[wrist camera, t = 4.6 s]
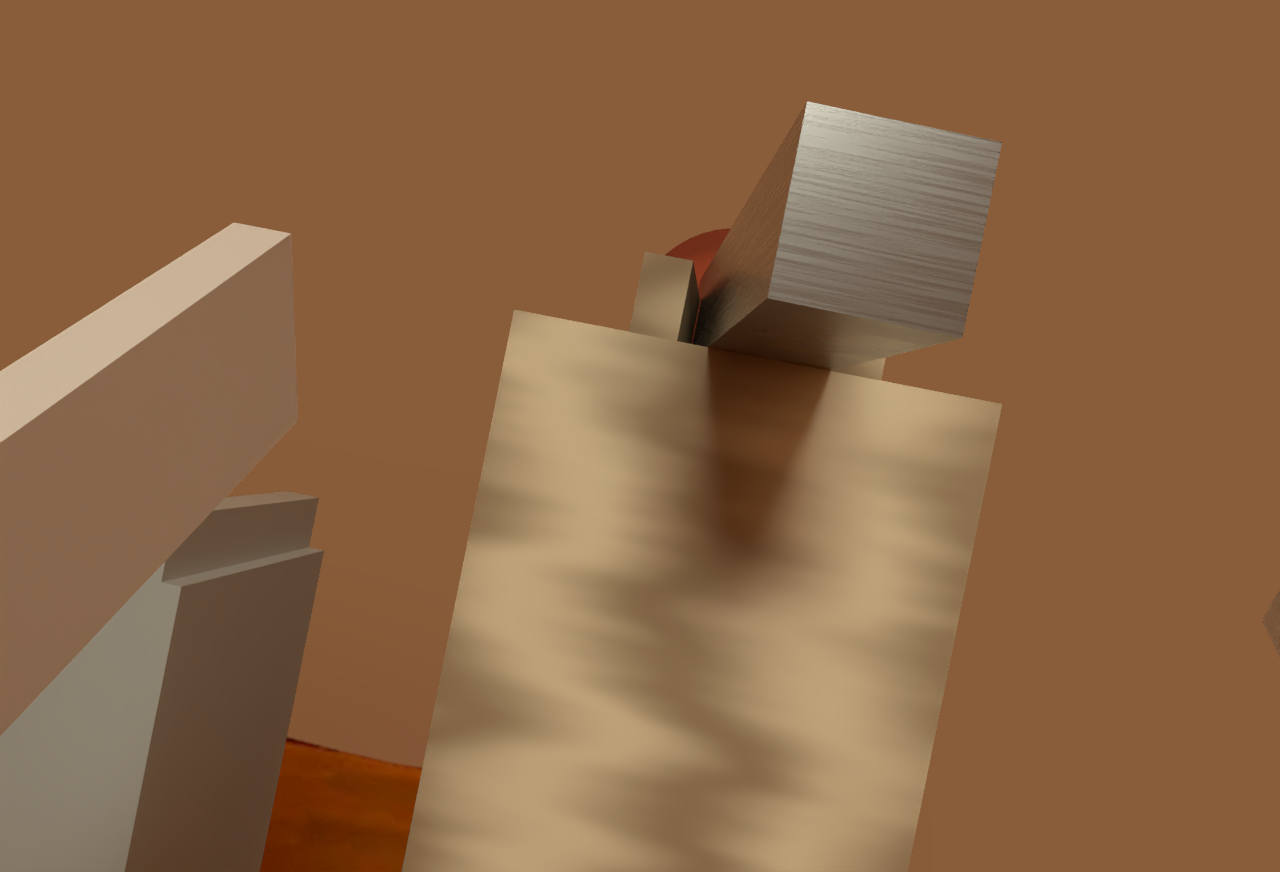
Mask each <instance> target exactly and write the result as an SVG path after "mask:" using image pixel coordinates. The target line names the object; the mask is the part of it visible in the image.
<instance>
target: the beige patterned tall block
mask: <svg viewBox="0 0 1280 872" xmlns="http://www.w3.org/2000/svg"><path fill="white" fill-rule="evenodd" d="M699 303H700V296H699V291H698V285H697V279H696V274H695V268H694V263H693V261H692V260H686V259H681V258H676V257H670V256H665V255H660V254H654V253H649V252H645V255H644V260H643V265H642V270H641V275H640V280H639V285H638V290H637V295H636V300H635V304H634V309H633V314H632V319H631V324H630V329H629V332H627V331H622V330H617V329H611V328H606V327H601V326H596V325H591V324H586V323H580V322H575V321H570V320H565V319H560V318H555V317H550V316H544V315H539V314H534V313H529V312H524V311H518V310H514V314H513V319H512V324H511V329H510V334H509V339H508V344H507V349H506V354H505V359H504V364H503V369H502V374H501V379H500V384H499V389H498V394H497V399H496V404H495V409H494V414H493V419H492V424H491V429H490V434H489V439H488V444H487V449H486V454H485V459H484V464H483V469H482V474H481V478H480V484H479V488H478V493H477V498H476V504H475V509H474V514H473V518H472V523H471V528H470V533H469V539H468V544H467V549H466V553H465V559H464V564H463V568H462V573H461V578H460V583H459V588H458V593H457V598H456V604H455V608H454V614H453V618H452V623H451V628H450V633H449V638H448V643H447V648H446V653H445V659H444V663H443V668H442V673H441V678H440V683H439V688H438V693H437V698H436V703H435V708H434V713H433V718H432V723H431V728H430V733H429V738H428V743H427V748H426V753H425V758H424V763H423V768H422V773H421V778H420V783H419V788H418V793H417V798H416V803H415V808H414V813H413V818H412V823H411V828H410V833H409V837H408V842H407V847H406V852H405V857H404V862H403V867H402V872H907V871H908V866H909V861H910V856H911V851H912V846H913V841H914V836H915V831H916V826H917V822H918V817H919V812H920V806H921V802H922V797H923V792H924V787H925V782H926V777H927V772H928V767H929V762H930V757H931V753H932V747H933V743H934V738H935V733H936V727H937V723H938V717H939V713H940V708H941V703H942V698H943V693H944V688H945V683H946V679H947V673H948V668H949V664H950V659H951V654H952V649H953V644H954V638H955V634H956V629H957V624H958V619H959V614H960V609H961V604H962V600H963V595H964V589H965V585H966V580H967V575H968V570H969V565H970V560H971V555H972V550H973V545H974V540H975V535H976V530H977V526H978V520H979V515H980V510H981V506H982V501H983V495H984V490H985V486H986V481H987V476H988V471H989V466H990V461H991V456H992V451H993V446H994V442H995V437H996V431H997V427H998V422H999V416H1000V412H1001V406H1002V404H998V403H993V402H988V401H983V400H978V399H972V398H967V397H962V396H957V395H952V394H947V393H941V392H936V391H931V390H926V389H921V388H916V387H911V386H905V385H900V384H894V383H890V382H885V381H881V378H882V373H883V368H884V363H885V358H886V357H885V358H881V359H877V360H873V361H869V362H865V363H861V364H857V365H853V366H849V367H845V368H841V369H837V370H833V371H828V370H823V369H818V368H813V367H807V366H802V365H797V364H792V363H787V362H782V361H776V360H771V359H766V358H761V357H756V356H751V355H746V354H740V353H735V352H730V351H725V350H720V349H715V348H709V347H704V346H699V345H694V344H691V343H692V338H693V333H694V328H695V323H696V318H697V313H698V308H699Z"/></svg>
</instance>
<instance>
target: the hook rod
mask: <svg viewBox="0 0 1280 872" xmlns="http://www.w3.org/2000/svg"><path fill="white" fill-rule="evenodd" d="M1001 144H1002V142H997V141H992V140H988V139H983V138H978V137H973V136H968V135H964V134H959V133H954V132H949V131H945V130H940V129H935V128H931V127H926V126H921V125H916V124H911V123H907V122H902V121H897V120H893V119H888V118H883V117H878V116H873V115H869V114H864V113H859V112H855V111H850V110H845V109H840V108H835V107H831V106H826V105H821V104H816V103H811V102H807V103H806V104H805V106H804V108H803V109H802V111H801V113H800V114H799V116H798V118H797V119H796V121H795V123H794V124H793V126H792V128H791V129H790V131H789V133H788V134H787V136H786V138H785V139H784V141H783V143H782V144H781V146H780V148H779V149H778V151H777V153H776V154H775V156H774V158H773V159H772V161H771V163H770V164H769V166H768V168H767V169H766V171H765V173H764V174H763V176H762V178H761V180H760V181H759V183H758V184H757V186H756V188H755V189H754V191H753V193H752V194H751V196H750V198H749V199H748V201H747V203H746V204H745V206H744V208H743V209H742V211H741V213H740V214H739V216H738V218H737V219H736V221H735V223H734V225H733V226H732V228H731V229H722V230H714V231H711V232H707V233H703V234H700V235H698V236H695V237H693V238H690V239H688V240H687V241H685V242H683V243H681V244H679V245H678V246H676V247H675V248H674V249H672V250H671V251H670V252H668V253H667V254H666V255H665V256H670V257H676V258H681V259H686V260H692V261H693V263H694V268H695V274H696V279H697V285H698V291H699V296H700V303H699V308H698V313H697V318H696V323H695V328H694V333H693V338H692V343H691V344H694V345H699V346H704V347H709V348H715V349H720V350H725V351H730V352H735V353H740V354H746V355H751V356H756V357H761V358H766V359H771V360H776V361H782V362H787V363H792V364H797V365H802V366H807V367H813V368H818V369H823V370H828V371H833V370H837V369H841V368H845V367H849V366H853V365H857V364H861V363H865V362H869V361H873V360H877V359H881V358H885V357H889V356H893V355H896V354H901V353H904V352H909V351H913V350H917V349H921V348H925V347H928V346H933V345H937V344H941V343H945V342H949V341H953V340H956V339H960V338H962V337H963V332H964V326H965V321H966V316H967V312H968V307H969V302H970V297H971V292H972V287H973V282H974V277H975V272H976V267H977V263H978V258H979V252H980V248H981V243H982V238H983V233H984V227H985V223H986V218H987V213H988V208H989V203H990V198H991V193H992V189H993V183H994V179H995V173H996V169H997V164H998V159H999V154H1000V149H1001ZM633 309H634V308H633ZM632 314H633V312H632ZM631 319H632V318H631Z"/></svg>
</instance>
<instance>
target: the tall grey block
mask: <svg viewBox="0 0 1280 872" xmlns="http://www.w3.org/2000/svg"><path fill="white" fill-rule="evenodd" d="M318 499H319V498H317V497H313V496H308V495H303V494H299V493H293V492H289V491H288V492H278V493H268V494H257V495H247V496H237V497H228V498H224V499H223V501H222V502H221V503H220V504H219V505H218V506H217V507H216V508H215V509H214V510H213V511H212V512H211V513H210V514H209V515H208V516H207V517H206V519H205V520H204V521H203V522H202V523H201V524H200V525H199V526H198V527H197V528H196V529H195V530H194V531H193V532H192V533H191V534H190V535H189V537H188V538H187V539H186V540H185V541H184V542H183V543H182V544H181V545H180V546H179V547H178V548H177V549H176V550H175V551H174V552H173V554H172V555H171V556H170V557H169V558H168V559H167V560H166V561H165V562H164V563H163V564H162V565H161V566H160V567H159V568H158V569H157V570H156V572H155V573H154V574H153V575H152V576H151V577H150V578H149V579H148V580H147V581H146V582H145V583H144V584H143V585H142V586H141V587H140V589H139V590H138V591H137V592H136V593H135V594H134V595H133V596H132V597H131V598H130V599H129V600H128V601H127V602H126V603H125V604H124V605H123V607H122V608H121V609H120V610H119V611H118V612H117V613H116V614H115V615H114V616H113V617H112V618H111V619H110V620H109V621H108V622H107V624H106V625H105V626H104V627H103V628H102V629H101V630H100V631H99V632H98V633H97V634H96V635H95V636H94V637H93V638H92V639H91V640H90V642H89V643H88V644H87V645H86V646H85V647H84V648H83V649H82V650H81V651H80V652H79V653H78V654H77V655H76V656H75V657H74V658H73V660H72V661H71V662H70V663H69V664H68V665H67V666H66V667H65V668H64V669H63V670H62V671H61V672H60V673H59V674H58V675H57V677H56V678H55V679H54V680H53V681H52V682H51V683H50V684H49V685H48V686H47V687H46V688H45V689H44V690H43V691H42V692H41V693H40V695H39V696H38V697H37V698H36V699H35V700H34V701H33V702H32V703H31V704H30V705H29V706H28V707H27V708H26V709H25V710H24V712H23V713H22V714H21V715H20V716H19V717H18V718H17V719H16V720H15V721H14V722H13V723H12V724H11V725H10V726H9V727H8V728H7V730H6V731H5V732H4V733H3V734H2V735H1V736H0V872H260V868H261V863H262V858H263V853H264V848H265V843H266V838H267V833H268V828H269V823H270V818H271V813H272V808H273V803H274V798H275V793H276V788H277V783H278V778H279V773H280V768H281V763H282V758H283V753H284V748H285V743H286V738H287V732H288V728H289V723H290V718H291V713H292V708H293V703H294V698H295V693H296V688H297V683H298V678H299V673H300V667H301V663H302V658H303V653H304V648H305V643H306V638H307V633H308V628H309V623H310V618H311V613H312V608H313V603H314V598H315V593H316V588H317V583H318V578H319V573H320V568H321V563H322V558H323V553H324V551H323V550H318V549H314V548H309V544H310V539H311V534H312V529H313V524H314V519H315V514H316V509H317V504H318Z"/></svg>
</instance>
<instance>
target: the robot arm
mask: <svg viewBox="0 0 1280 872" xmlns="http://www.w3.org/2000/svg"><path fill="white" fill-rule="evenodd" d="M293 302H294V301H293V273H292V246H291V234H290V233H285V232H279V231H275V230H270V229H264V228H259V227H254V226H248V225H244V224H238V223H233V224H231V225H230V226H228V227H226V228H225V229H223V230H222V231H220V232H219V233H217V234H216V235H214V236H212V237H211V238H209V239H208V240H206V241H204V242H203V243H201V244H200V245H198V246H197V247H195V248H193V249H192V250H190V251H189V252H187V253H186V254H184V255H182V256H181V257H179V258H178V259H176V260H175V261H173V262H172V263H170V264H168V265H167V266H165V267H164V268H162V269H161V270H159V271H157V272H156V273H154V274H153V275H151V276H150V277H148V278H146V279H145V280H143V281H142V282H140V283H138V284H137V285H135V286H134V287H132V288H131V289H129V290H127V291H126V292H124V293H123V294H121V295H120V296H118V297H116V298H115V299H113V300H112V301H110V302H109V303H107V304H106V305H104V306H102V307H101V308H99V309H98V310H96V311H95V312H93V313H91V314H90V315H88V316H87V317H85V318H83V319H82V320H80V321H79V322H77V323H76V324H74V325H72V326H71V327H69V328H68V329H66V330H65V331H63V332H62V333H60V334H58V335H57V336H55V337H54V338H52V339H50V340H49V341H47V342H46V343H44V344H43V345H41V346H39V347H38V348H36V349H35V350H33V351H32V352H30V353H29V354H27V355H25V356H24V357H22V358H21V359H19V360H17V361H16V362H14V363H13V364H11V365H10V366H8V367H6V368H5V369H3V370H2V371H0V736H1V735H2V734H3V733H4V732H5V731H6V730H7V728H8V727H9V726H10V725H11V724H12V723H13V722H14V721H15V720H16V719H17V718H18V717H19V716H20V715H21V714H22V713H23V712H24V710H25V709H26V708H27V707H28V706H29V705H30V704H31V703H32V702H33V701H34V700H35V699H36V698H37V697H38V696H39V695H40V693H41V692H42V691H43V690H44V689H45V688H46V687H47V686H48V685H49V684H50V683H51V682H52V681H53V680H54V679H55V678H56V677H57V675H58V674H59V673H60V672H61V671H62V670H63V669H64V668H65V667H66V666H67V665H68V664H69V663H70V662H71V661H72V660H73V658H74V657H75V656H76V655H77V654H78V653H79V652H80V651H81V650H82V649H83V648H84V647H85V646H86V645H87V644H88V643H89V642H90V640H91V639H92V638H93V637H94V636H95V635H96V634H97V633H98V632H99V631H100V630H101V629H102V628H103V627H104V626H105V625H106V624H107V622H108V621H109V620H110V619H111V618H112V617H113V616H114V615H115V614H116V613H117V612H118V611H119V610H120V609H121V608H122V607H123V605H124V604H125V603H126V602H127V601H128V600H129V599H130V598H131V597H132V596H133V595H134V594H135V593H136V592H137V591H138V590H139V589H140V587H141V586H142V585H143V584H144V583H145V582H146V581H147V580H148V579H149V578H150V577H151V576H152V575H153V574H154V573H155V572H156V570H157V569H158V568H159V567H160V566H161V565H162V564H163V563H164V562H165V561H166V560H167V559H168V558H169V557H170V556H171V555H172V554H173V552H174V551H175V550H176V549H177V548H178V547H179V546H180V545H181V544H182V543H183V542H184V541H185V540H186V539H187V538H188V537H189V535H190V534H191V533H192V532H193V531H194V530H195V529H196V528H197V527H198V526H199V525H200V524H201V523H202V522H203V521H204V520H205V519H206V517H207V516H208V515H209V514H210V513H211V512H212V511H213V510H214V509H215V508H216V507H217V506H218V505H219V504H220V503H221V502H222V501H223V499H224V498H225V497H226V496H227V495H228V494H229V493H230V492H231V491H232V490H233V489H234V488H235V487H236V486H237V485H238V484H239V482H240V481H241V480H242V479H243V478H244V477H245V476H246V475H247V474H248V473H249V472H250V471H251V470H252V469H253V468H254V467H255V466H256V464H257V463H258V462H259V461H260V460H261V459H262V458H263V457H264V456H265V455H266V454H267V453H268V452H269V451H270V450H271V448H272V447H273V446H274V445H275V444H276V443H277V442H278V441H279V440H280V439H281V438H282V437H283V436H284V435H285V434H286V433H287V432H288V431H289V429H290V428H291V427H292V426H293V425H294V424H295V423H296V422H297V421H298V412H297V387H296V386H297V384H296V358H295V357H296V356H295V332H294V330H295V328H294V303H293ZM1262 622H1263V624H1264V626H1265V628H1266V630H1267V632H1268V634H1269V636H1270V638H1271V640H1272V642H1273V644H1274V646H1275V648H1276V650H1277V652H1278V654H1279V656H1280V589H1279V591H1278V593H1277V595H1276V597H1275V598H1274V600H1273V602H1272V604H1271V606H1270V607H1269V610H1268V611H1267V613H1266V615H1265V617H1264V618H1263V621H1262Z"/></svg>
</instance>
